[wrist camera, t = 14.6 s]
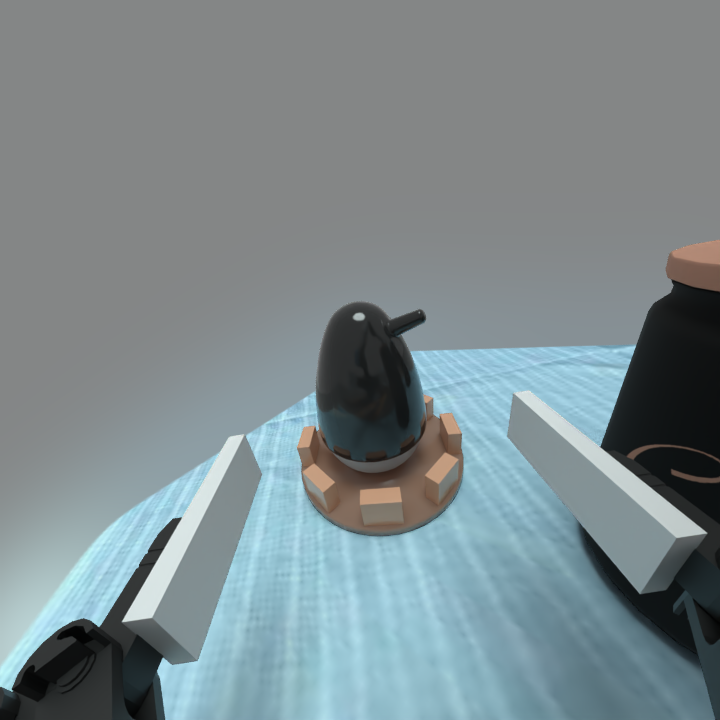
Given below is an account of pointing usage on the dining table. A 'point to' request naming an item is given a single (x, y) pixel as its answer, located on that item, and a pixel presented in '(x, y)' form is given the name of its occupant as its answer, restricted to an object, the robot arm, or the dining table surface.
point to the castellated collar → (386, 481)
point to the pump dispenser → (369, 388)
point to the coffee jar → (674, 410)
